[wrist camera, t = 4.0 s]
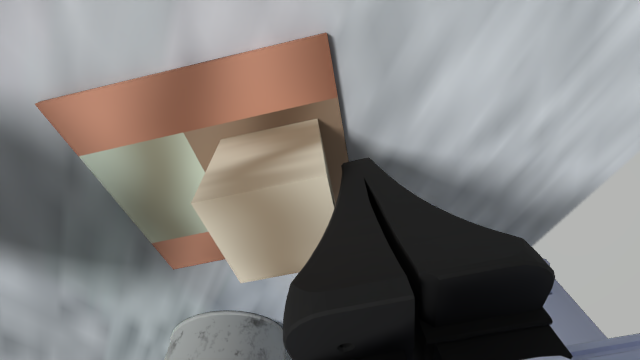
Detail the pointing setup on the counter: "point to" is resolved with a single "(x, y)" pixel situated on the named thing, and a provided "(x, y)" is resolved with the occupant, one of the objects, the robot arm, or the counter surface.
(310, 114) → the board
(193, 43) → the counter surface
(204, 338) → the grey marbled cylinder
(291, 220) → the birch block
